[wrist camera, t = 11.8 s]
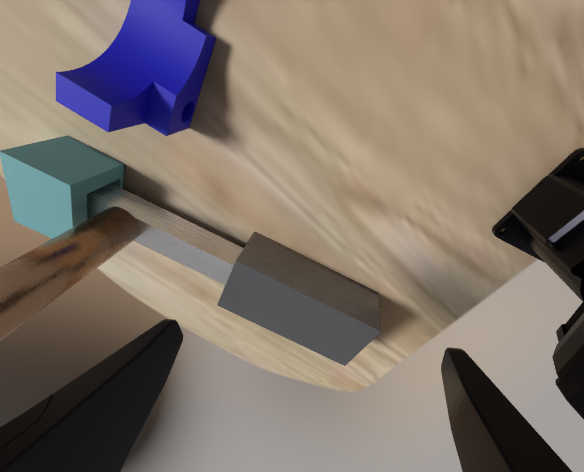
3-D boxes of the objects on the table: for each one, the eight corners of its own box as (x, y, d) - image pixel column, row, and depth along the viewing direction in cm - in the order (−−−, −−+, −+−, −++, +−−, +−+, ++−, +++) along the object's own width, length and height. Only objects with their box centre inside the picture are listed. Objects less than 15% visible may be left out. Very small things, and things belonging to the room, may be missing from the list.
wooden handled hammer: (278, 262, 23) (205, 436, 12) (266, 284, 25) (192, 455, 14) (82, 165, 22) (-187, 259, 11) (84, 195, 24) (-151, 303, 13)
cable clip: (190, 127, 20) (133, 147, 15) (134, 92, 19) (56, 100, 14) (258, -95, 13) (197, -193, 8) (175, -156, 13) (58, -299, 8)
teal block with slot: (124, 163, 22) (70, 185, 18) (120, 219, 26) (74, 249, 21) (67, 135, 22) (-1, 150, 18) (71, 195, 25) (14, 220, 21)
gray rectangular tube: (378, 293, 24) (381, 331, 20) (346, 326, 27) (344, 365, 23) (254, 231, 23) (235, 260, 20) (236, 273, 26) (217, 305, 23)
